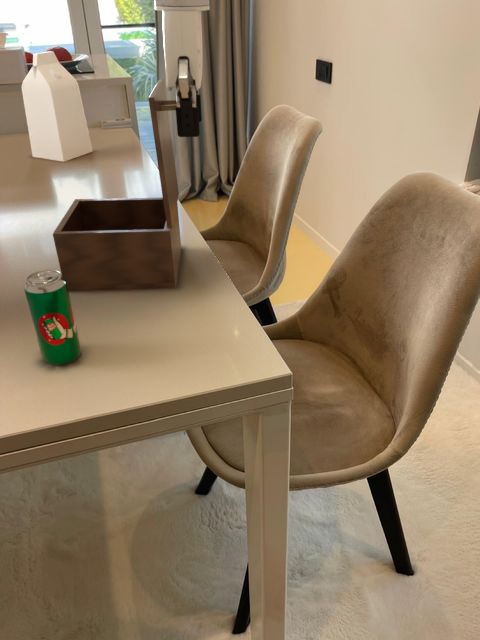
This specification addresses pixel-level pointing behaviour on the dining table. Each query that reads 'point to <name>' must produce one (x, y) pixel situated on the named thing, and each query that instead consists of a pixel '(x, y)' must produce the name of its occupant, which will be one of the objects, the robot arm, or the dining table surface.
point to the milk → (54, 111)
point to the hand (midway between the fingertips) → (190, 128)
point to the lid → (164, 148)
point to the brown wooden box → (118, 245)
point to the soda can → (52, 316)
